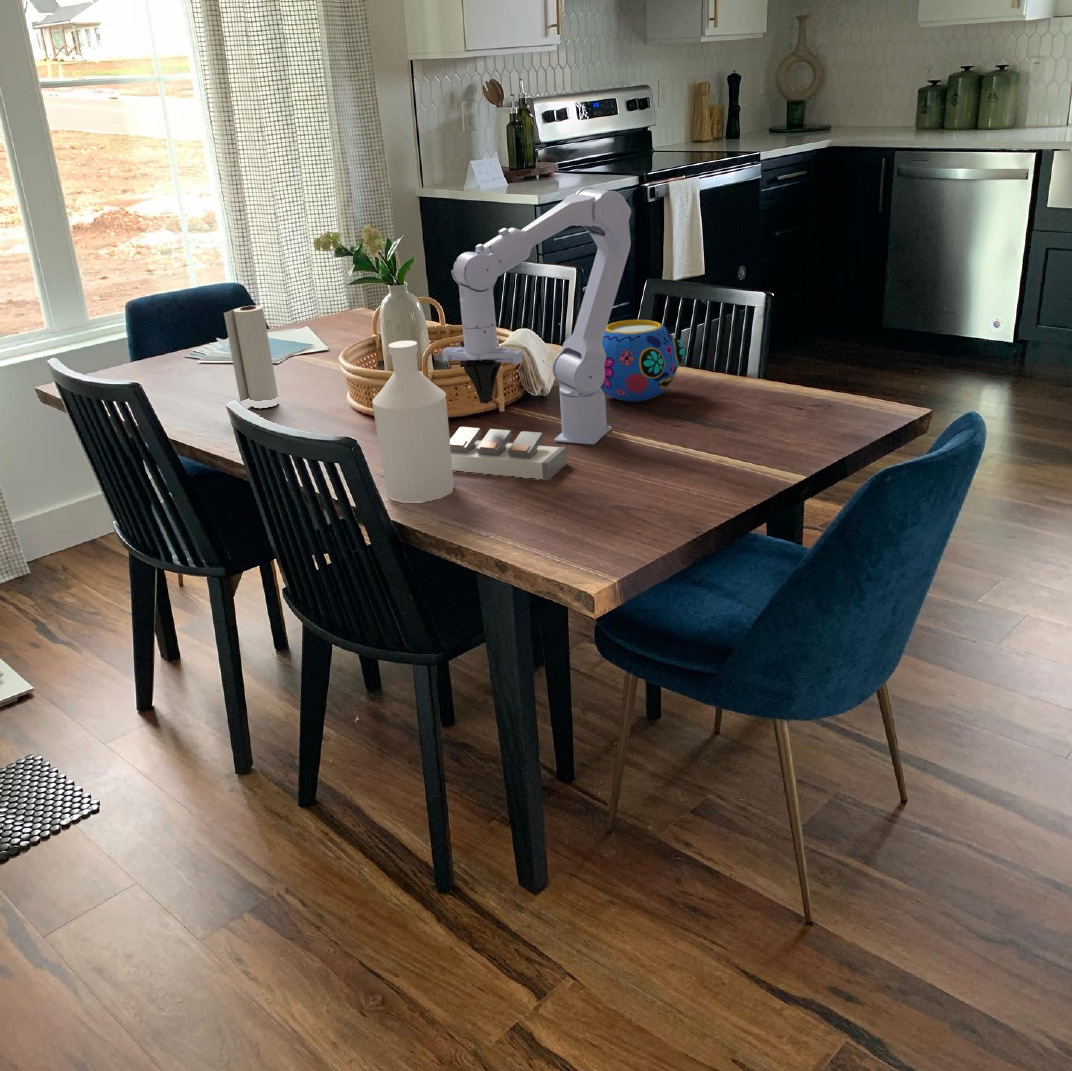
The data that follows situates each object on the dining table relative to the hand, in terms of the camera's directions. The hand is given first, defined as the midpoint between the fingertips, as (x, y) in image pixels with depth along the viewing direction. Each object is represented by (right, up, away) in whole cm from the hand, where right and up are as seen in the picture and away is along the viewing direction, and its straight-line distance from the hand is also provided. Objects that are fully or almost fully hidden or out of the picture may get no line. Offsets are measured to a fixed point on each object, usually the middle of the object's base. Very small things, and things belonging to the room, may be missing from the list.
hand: (486, 401), depth 188 cm
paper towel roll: (-51, +4, +44) cm, 67 cm away
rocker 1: (-4, -7, 0) cm, 8 cm away
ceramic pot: (+29, +4, +31) cm, 43 cm away
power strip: (-1, -11, +1) cm, 11 cm away
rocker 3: (+7, -8, -4) cm, 11 cm away
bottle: (-11, -16, -8) cm, 21 cm away
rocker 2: (+1, -7, -2) cm, 8 cm away
